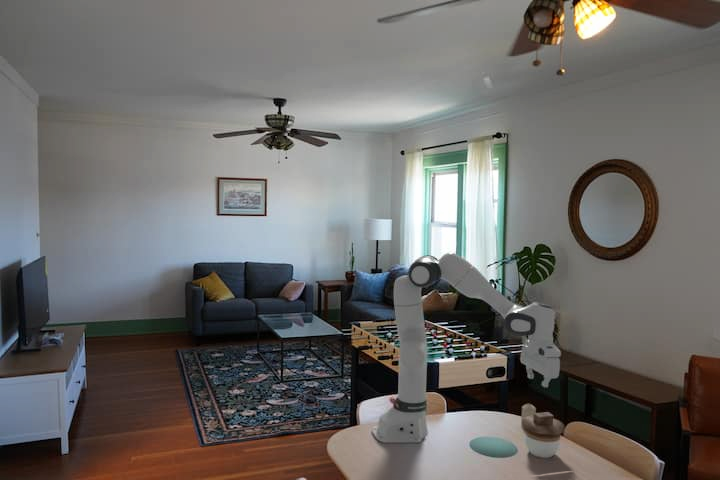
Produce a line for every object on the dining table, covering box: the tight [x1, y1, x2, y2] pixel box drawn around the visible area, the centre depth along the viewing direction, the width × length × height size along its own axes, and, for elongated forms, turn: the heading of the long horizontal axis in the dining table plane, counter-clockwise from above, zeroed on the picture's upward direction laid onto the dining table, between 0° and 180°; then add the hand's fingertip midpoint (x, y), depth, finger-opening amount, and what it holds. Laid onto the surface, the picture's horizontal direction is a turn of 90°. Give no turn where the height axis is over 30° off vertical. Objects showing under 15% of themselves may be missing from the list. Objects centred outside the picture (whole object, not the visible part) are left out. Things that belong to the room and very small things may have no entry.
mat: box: [469, 436, 519, 459], centre depth 213 cm, size 18×18×1 cm
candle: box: [520, 403, 537, 429], centre depth 233 cm, size 6×6×10 cm
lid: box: [522, 411, 565, 435], centre depth 208 cm, size 15×15×4 cm
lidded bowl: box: [524, 428, 562, 459], centre depth 209 cm, size 13×13×11 cm
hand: (537, 382), depth 209 cm, fingers open, 8 cm apart
